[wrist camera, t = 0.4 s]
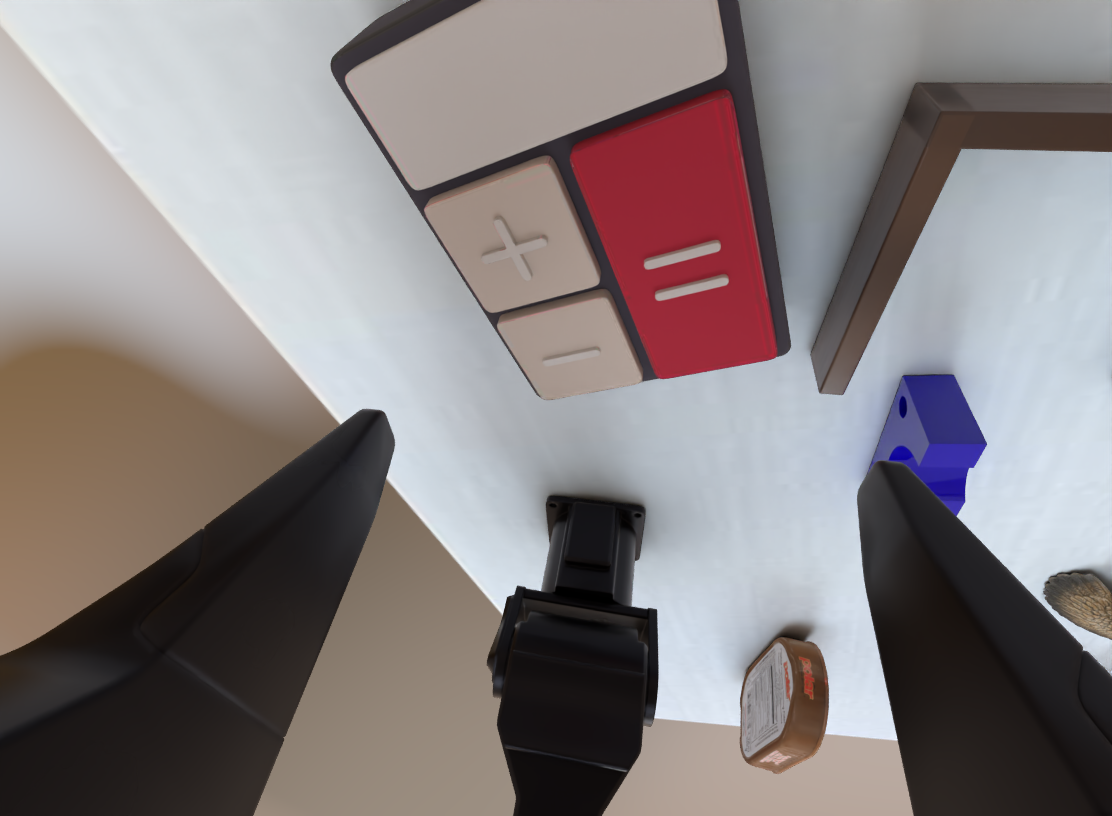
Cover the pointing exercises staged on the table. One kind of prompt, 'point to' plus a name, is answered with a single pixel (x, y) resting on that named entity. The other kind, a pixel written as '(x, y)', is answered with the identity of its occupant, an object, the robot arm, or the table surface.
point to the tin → (784, 705)
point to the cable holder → (933, 435)
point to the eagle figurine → (1082, 601)
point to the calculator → (584, 177)
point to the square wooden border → (918, 177)
